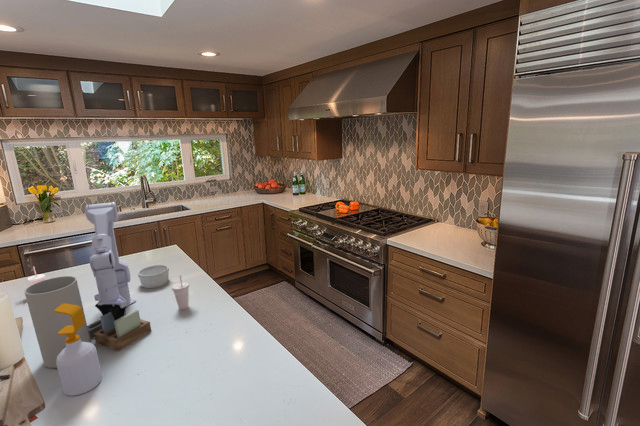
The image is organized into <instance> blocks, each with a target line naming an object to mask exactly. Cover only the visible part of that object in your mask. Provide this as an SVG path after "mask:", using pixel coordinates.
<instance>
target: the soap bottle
mask: <svg viewBox="0 0 640 426" xmlns="http://www.w3.org/2000/svg"><path fill="white" fill-rule="evenodd" d="M83 310H84V309H83ZM83 310H82V308H81V307H80V306H78V305H72V304H67V303H64V304H62V305H60V306H59V307H58V308H56V309H55V312H57V313H62V314H67V315H70V317H71V318H72V322H73V325H68V326H65V327H64V328H63V329H61V330H60V331H59V332H58V335H65V336H68V338H67V339H66V340H65V343H66V348H65V349H63V350H62V351H61V352H60V353H59V355H58V356H57V359H56V365H57V368H56V369H57V373H58V376H59V380H60V384H61V387H62V391H63V393H64V394H65V395H66V396H71V397H73V396H74V397H75V396H79V395H82V394H85V393H87V392H89V391H91V390H92V389H93V390H94V388H95V387H97V386H98V385H99V384H100V383H101V380H102V379H103V375H102V374H103V372H102V370H101V365H100V360H99V356H98V352H97V347H96V346H95V344H93V342H91V343H89V342H81V339H80V335H76V334H75V333H77V330H79V329H80V328H81V327H82V326H83V325H84V324H85V319H84V315H83Z"/></svg>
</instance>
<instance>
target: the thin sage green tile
mask: <svg viewBox="0 0 640 426" xmlns="http://www.w3.org/2000/svg"><path fill="white" fill-rule="evenodd" d="M140 316H141V315H140V311H139V309H134V310H132V311H131V312H128V313H126V315H125V316H123V317H121V318H119V319H117V320H115V321H114V325H115V330H116V334H117V339H118V338H120V337H122V336H123V335H125V334H127V333H128V332H130V331H132V330H134V329H135V328H137V327H139V326H140V325H141V321H140V319H141V317H140Z"/></svg>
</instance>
